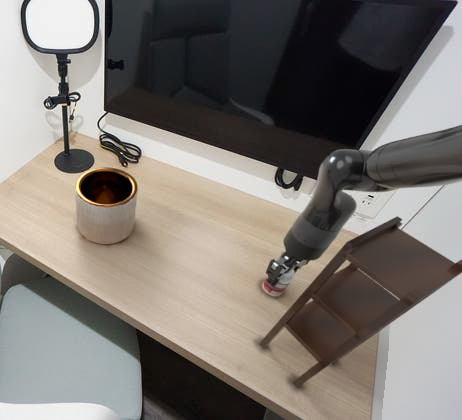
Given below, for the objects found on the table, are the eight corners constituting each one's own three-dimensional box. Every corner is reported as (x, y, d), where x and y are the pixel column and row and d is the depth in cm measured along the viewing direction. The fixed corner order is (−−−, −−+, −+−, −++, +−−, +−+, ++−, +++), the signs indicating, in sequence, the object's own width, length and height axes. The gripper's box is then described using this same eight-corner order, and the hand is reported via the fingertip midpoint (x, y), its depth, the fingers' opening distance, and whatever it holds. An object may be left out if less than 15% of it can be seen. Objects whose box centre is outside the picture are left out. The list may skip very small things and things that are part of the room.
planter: (143, 217, 100) (149, 178, 89) (116, 255, 89) (119, 216, 78) (95, 198, 107) (95, 160, 96) (65, 231, 96) (61, 192, 85)
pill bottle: (267, 277, 83) (280, 258, 77) (285, 289, 80) (300, 270, 74) (258, 287, 81) (270, 268, 75) (276, 300, 78) (290, 281, 72)
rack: (336, 361, 68) (476, 262, 43) (296, 388, 64) (424, 296, 39) (296, 321, 74) (397, 216, 49) (258, 343, 71) (346, 241, 46)
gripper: (303, 258, 61) (269, 303, 73) (351, 234, 65) (312, 280, 77) (272, 232, 66) (245, 278, 78) (318, 211, 70) (286, 258, 82)
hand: (278, 279), depth 78 cm, fingers open, 5 cm apart
